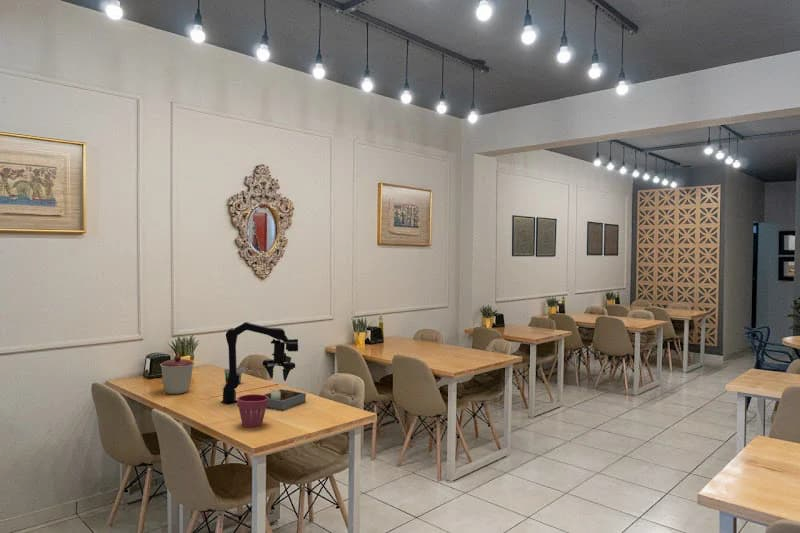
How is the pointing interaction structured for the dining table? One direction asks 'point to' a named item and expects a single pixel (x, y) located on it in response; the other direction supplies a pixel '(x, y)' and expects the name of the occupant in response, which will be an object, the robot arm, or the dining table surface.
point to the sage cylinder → (275, 395)
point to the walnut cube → (286, 394)
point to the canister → (176, 375)
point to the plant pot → (252, 409)
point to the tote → (286, 401)
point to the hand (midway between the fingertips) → (278, 379)
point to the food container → (239, 370)
